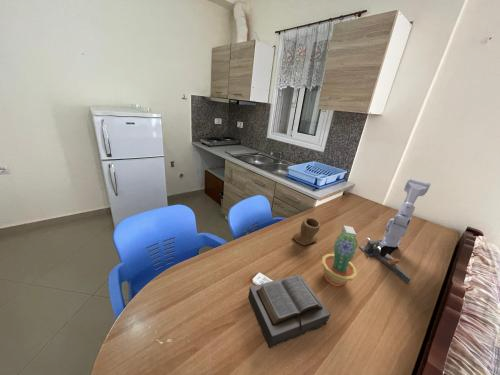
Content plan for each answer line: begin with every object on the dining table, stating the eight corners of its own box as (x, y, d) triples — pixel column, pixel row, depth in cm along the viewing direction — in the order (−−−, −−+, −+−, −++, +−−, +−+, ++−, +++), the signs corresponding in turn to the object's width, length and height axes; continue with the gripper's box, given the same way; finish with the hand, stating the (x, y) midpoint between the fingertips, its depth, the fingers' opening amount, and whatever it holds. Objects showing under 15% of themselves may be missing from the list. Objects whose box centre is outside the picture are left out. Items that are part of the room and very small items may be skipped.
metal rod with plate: (369, 240, 124) (371, 236, 122) (398, 264, 106) (400, 260, 105) (361, 240, 122) (363, 236, 121) (389, 265, 104) (391, 261, 103)
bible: (333, 340, 69) (342, 321, 65) (258, 351, 63) (263, 331, 59) (304, 283, 90) (309, 267, 86) (245, 288, 84) (248, 270, 80)
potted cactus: (310, 269, 98) (324, 226, 89) (334, 263, 105) (349, 222, 95) (334, 296, 86) (353, 250, 76) (358, 287, 92) (379, 243, 82)
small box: (350, 249, 117) (356, 234, 113) (340, 247, 118) (346, 232, 114) (347, 241, 125) (353, 227, 121) (338, 239, 125) (343, 224, 121)
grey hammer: (374, 246, 123) (379, 236, 121) (416, 281, 100) (423, 271, 97) (358, 247, 120) (363, 238, 117) (398, 284, 97) (404, 273, 94)
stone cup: (304, 250, 111) (311, 227, 105) (290, 237, 120) (295, 216, 114) (322, 243, 119) (329, 222, 113) (307, 232, 128) (313, 211, 122)
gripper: (396, 229, 111) (387, 249, 117) (377, 231, 106) (368, 252, 112) (409, 237, 105) (398, 257, 111) (389, 240, 100) (379, 261, 106)
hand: (384, 255), depth 111 cm, fingers open, 3 cm apart
